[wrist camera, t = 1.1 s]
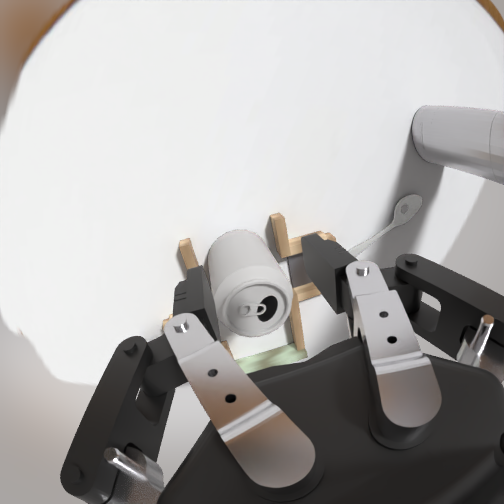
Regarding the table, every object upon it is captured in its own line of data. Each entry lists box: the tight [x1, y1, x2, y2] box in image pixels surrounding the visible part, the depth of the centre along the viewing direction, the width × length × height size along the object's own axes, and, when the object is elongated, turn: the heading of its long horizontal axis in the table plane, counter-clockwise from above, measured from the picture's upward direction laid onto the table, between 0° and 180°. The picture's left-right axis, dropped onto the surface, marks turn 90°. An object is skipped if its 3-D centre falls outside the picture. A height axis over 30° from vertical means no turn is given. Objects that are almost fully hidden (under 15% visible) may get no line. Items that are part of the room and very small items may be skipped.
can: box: [208, 230, 293, 337], centre depth 29 cm, size 8×8×12 cm
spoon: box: [348, 194, 423, 257], centre depth 37 cm, size 4×21×2 cm, turn 127°
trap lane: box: [163, 213, 336, 374], centre depth 36 cm, size 25×23×3 cm
